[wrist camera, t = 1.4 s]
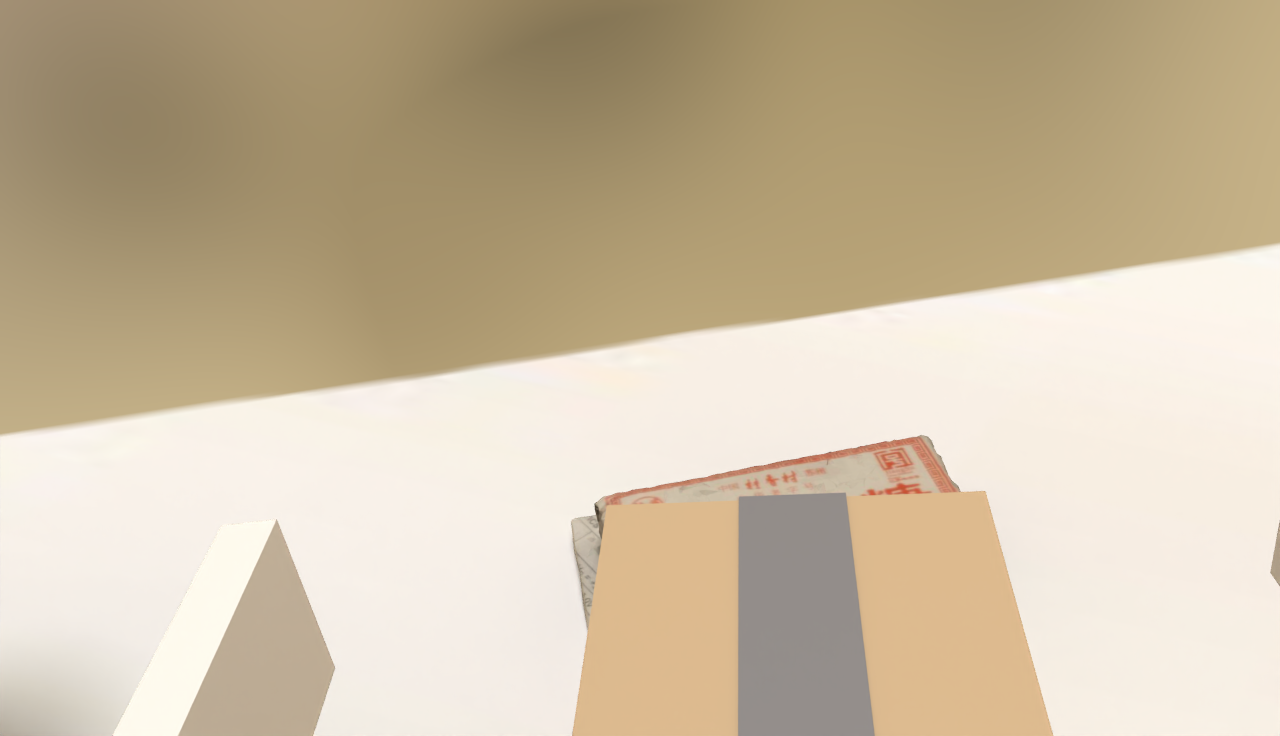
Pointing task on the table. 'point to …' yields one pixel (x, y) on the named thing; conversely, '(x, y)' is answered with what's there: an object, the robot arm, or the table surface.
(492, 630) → the table surface
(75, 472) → the table surface
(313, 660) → the robot arm
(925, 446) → the packaged product
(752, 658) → the brown cardboard block
